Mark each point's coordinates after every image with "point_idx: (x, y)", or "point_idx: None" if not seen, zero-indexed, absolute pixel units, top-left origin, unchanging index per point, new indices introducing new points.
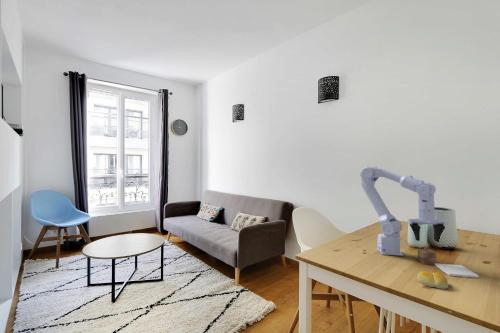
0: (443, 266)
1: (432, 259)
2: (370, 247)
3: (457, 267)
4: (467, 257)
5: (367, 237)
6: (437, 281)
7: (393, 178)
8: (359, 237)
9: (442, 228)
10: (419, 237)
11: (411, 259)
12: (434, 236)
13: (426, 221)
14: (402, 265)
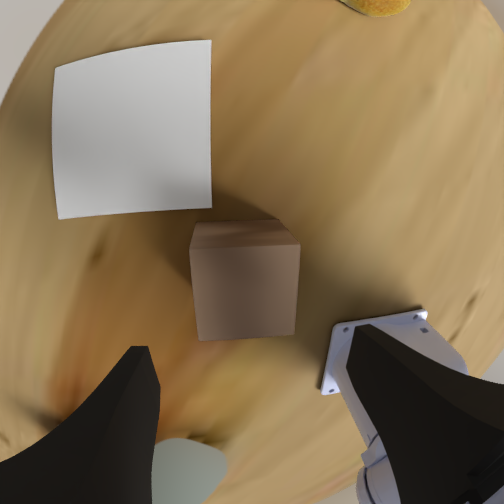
0: (178, 156)
1: (219, 230)
2: None
3: (94, 167)
4: (22, 360)
5: (347, 466)
6: None
7: None
8: None
9: (16, 482)
10: (381, 345)
11: (316, 280)
12: (154, 422)
13: None
14: (410, 166)
